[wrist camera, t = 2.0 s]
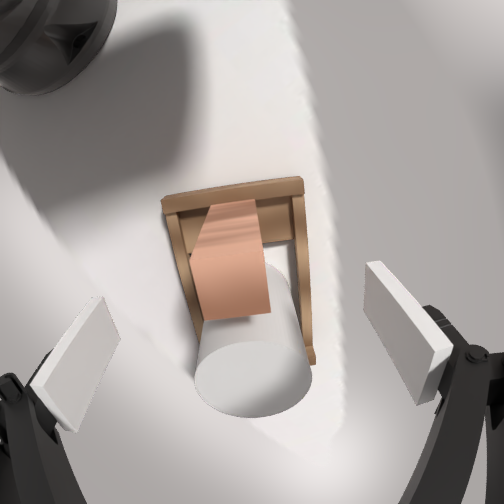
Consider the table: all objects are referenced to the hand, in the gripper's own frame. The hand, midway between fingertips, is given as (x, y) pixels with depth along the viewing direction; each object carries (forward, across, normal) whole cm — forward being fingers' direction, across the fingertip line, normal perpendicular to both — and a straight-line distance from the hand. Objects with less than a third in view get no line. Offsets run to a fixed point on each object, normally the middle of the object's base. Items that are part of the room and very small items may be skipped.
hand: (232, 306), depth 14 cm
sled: (+14, 0, -6) cm, 16 cm away
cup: (+15, 0, -8) cm, 17 cm away
